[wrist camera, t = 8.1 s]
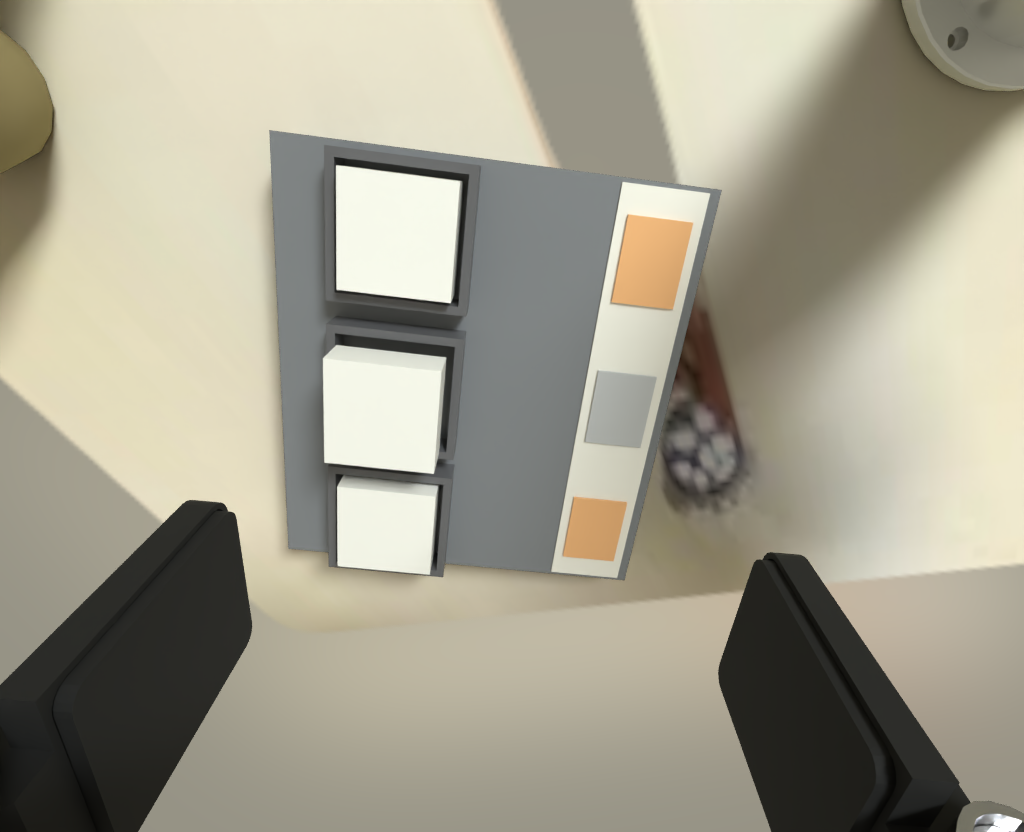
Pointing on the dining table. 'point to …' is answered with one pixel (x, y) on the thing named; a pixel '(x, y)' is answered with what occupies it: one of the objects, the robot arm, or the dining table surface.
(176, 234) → the dining table surface
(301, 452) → the switch box
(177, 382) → the dining table surface
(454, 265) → the switch
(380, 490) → the switch
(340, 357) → the switch
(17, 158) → the squeeze bottle
